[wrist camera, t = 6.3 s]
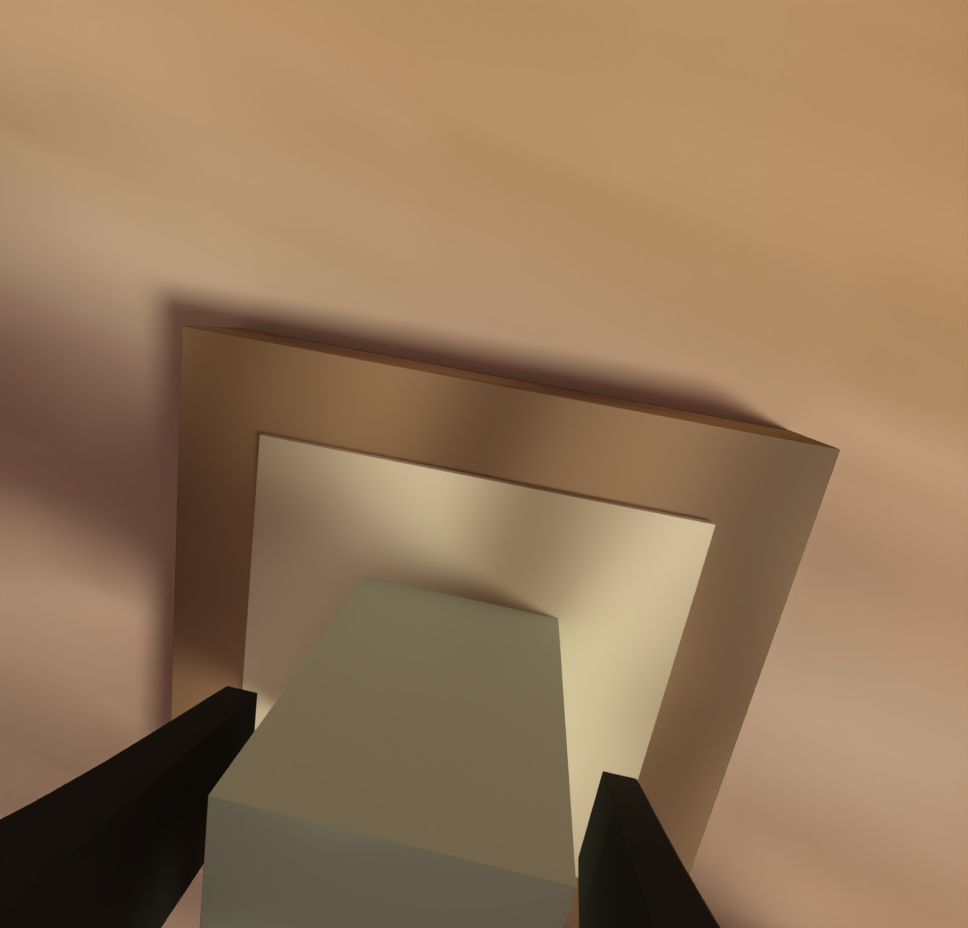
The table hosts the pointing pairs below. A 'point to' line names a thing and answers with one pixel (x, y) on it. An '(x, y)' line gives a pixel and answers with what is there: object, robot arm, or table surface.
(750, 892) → the table surface
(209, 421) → the plinth
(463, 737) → the sage block
